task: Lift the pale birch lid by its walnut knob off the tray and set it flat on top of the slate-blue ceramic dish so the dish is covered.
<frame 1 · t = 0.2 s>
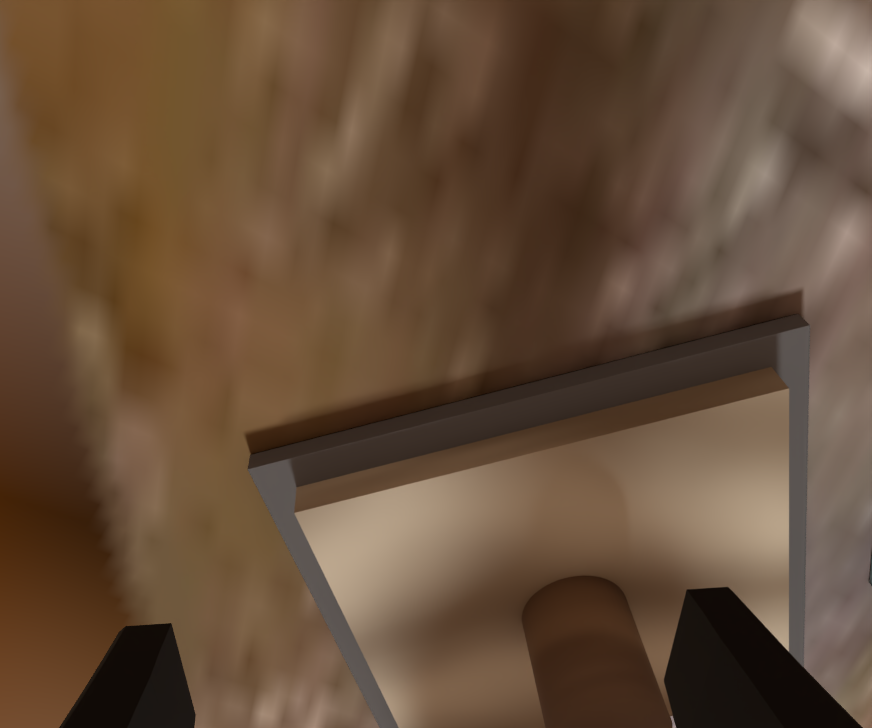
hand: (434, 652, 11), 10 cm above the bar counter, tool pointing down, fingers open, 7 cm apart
tray: (562, 572, 25), on the bar counter
lid: (566, 586, 24), point 1 cm above the bar counter, touching tray
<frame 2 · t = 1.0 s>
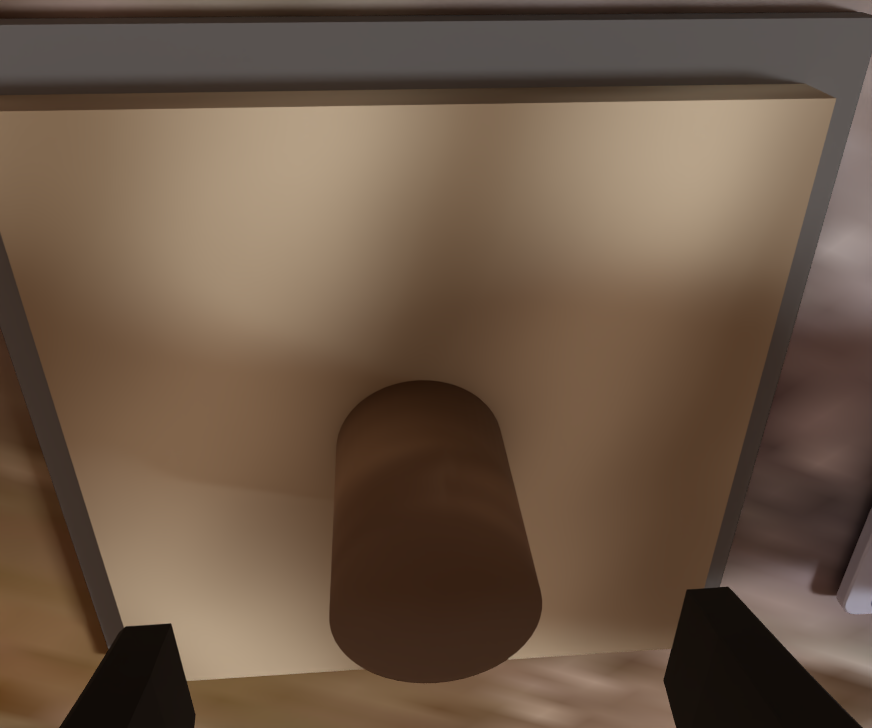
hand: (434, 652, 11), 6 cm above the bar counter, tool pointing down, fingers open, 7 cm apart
tray: (414, 402, 16), on the bar counter
lid: (416, 418, 16), point 1 cm above the bar counter, touching tray
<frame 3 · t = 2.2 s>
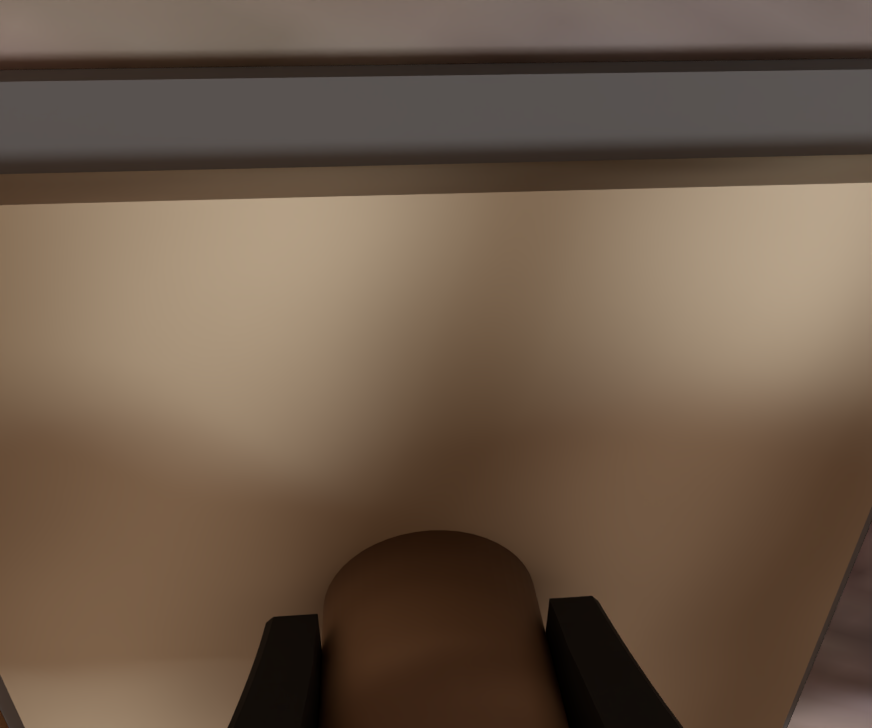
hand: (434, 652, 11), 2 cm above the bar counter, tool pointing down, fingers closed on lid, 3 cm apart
tray: (422, 532, 13), on the bar counter
lid: (425, 558, 13), point 1 cm above the bar counter, touching gripper, tray
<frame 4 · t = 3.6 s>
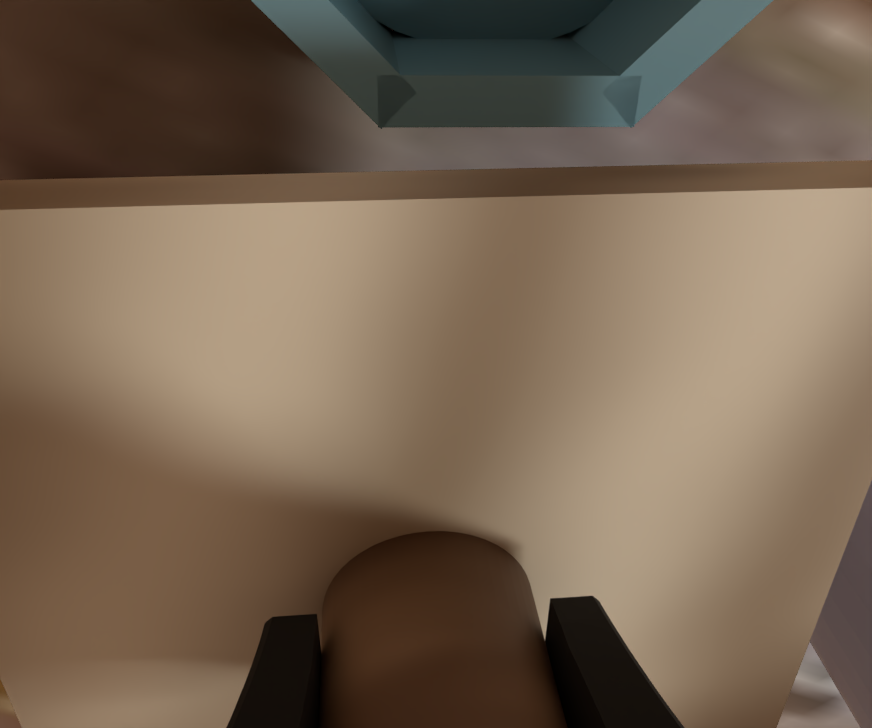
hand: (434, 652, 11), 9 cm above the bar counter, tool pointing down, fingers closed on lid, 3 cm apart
lid: (422, 560, 13), point 8 cm above the bar counter, touching gripper
when the fingers open (7 cm above the bar counter, at t = 5.0 s): lid drops 1 cm, resting on dish.
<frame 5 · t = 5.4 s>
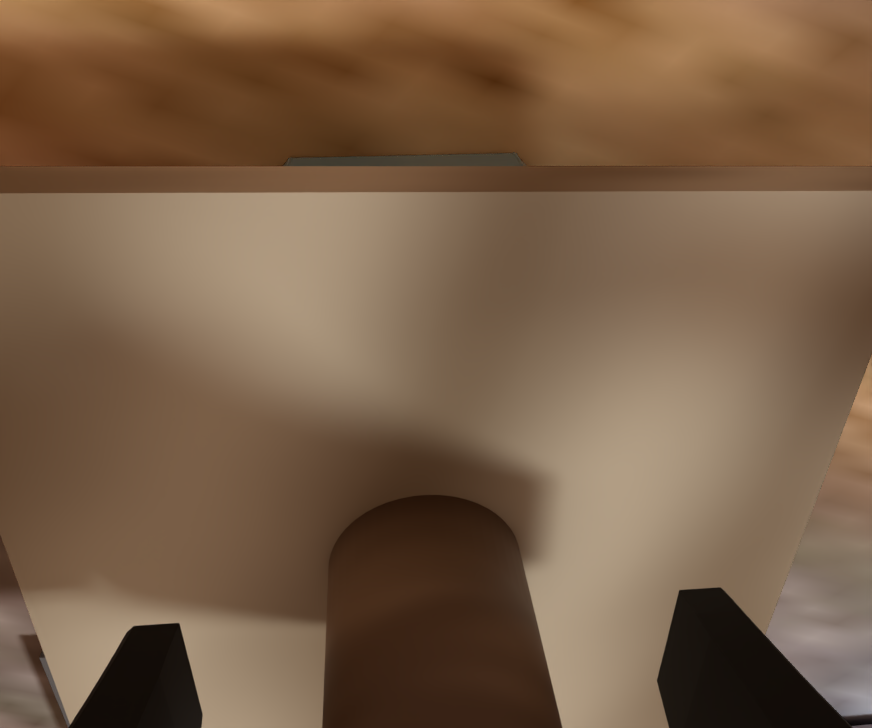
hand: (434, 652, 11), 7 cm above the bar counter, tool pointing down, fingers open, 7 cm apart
lid: (420, 525, 14), point 4 cm above the bar counter, touching dish
dish: (407, 382, 17), on the bar counter
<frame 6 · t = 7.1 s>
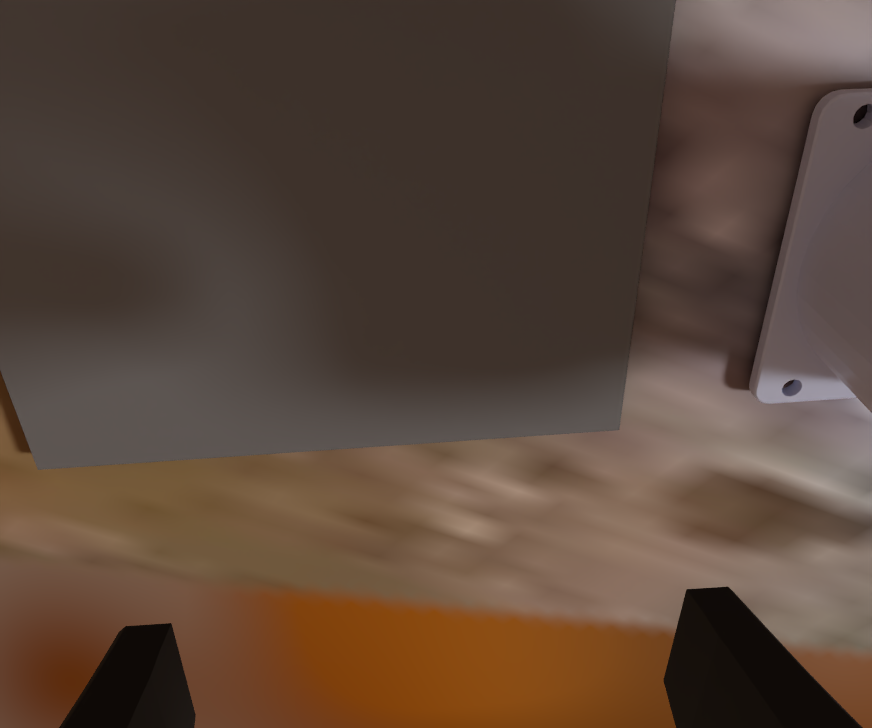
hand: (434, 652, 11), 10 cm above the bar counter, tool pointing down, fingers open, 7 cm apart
tray: (304, 156, 17), on the bar counter
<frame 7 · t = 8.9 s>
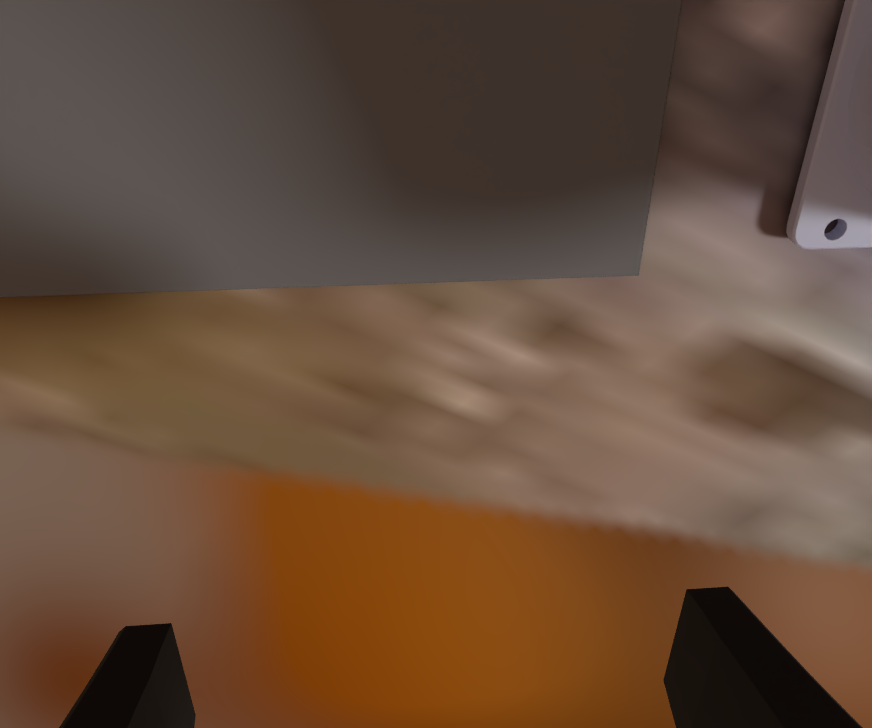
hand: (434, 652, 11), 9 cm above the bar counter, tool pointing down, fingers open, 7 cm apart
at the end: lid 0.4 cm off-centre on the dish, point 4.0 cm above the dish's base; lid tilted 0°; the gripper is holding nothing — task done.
